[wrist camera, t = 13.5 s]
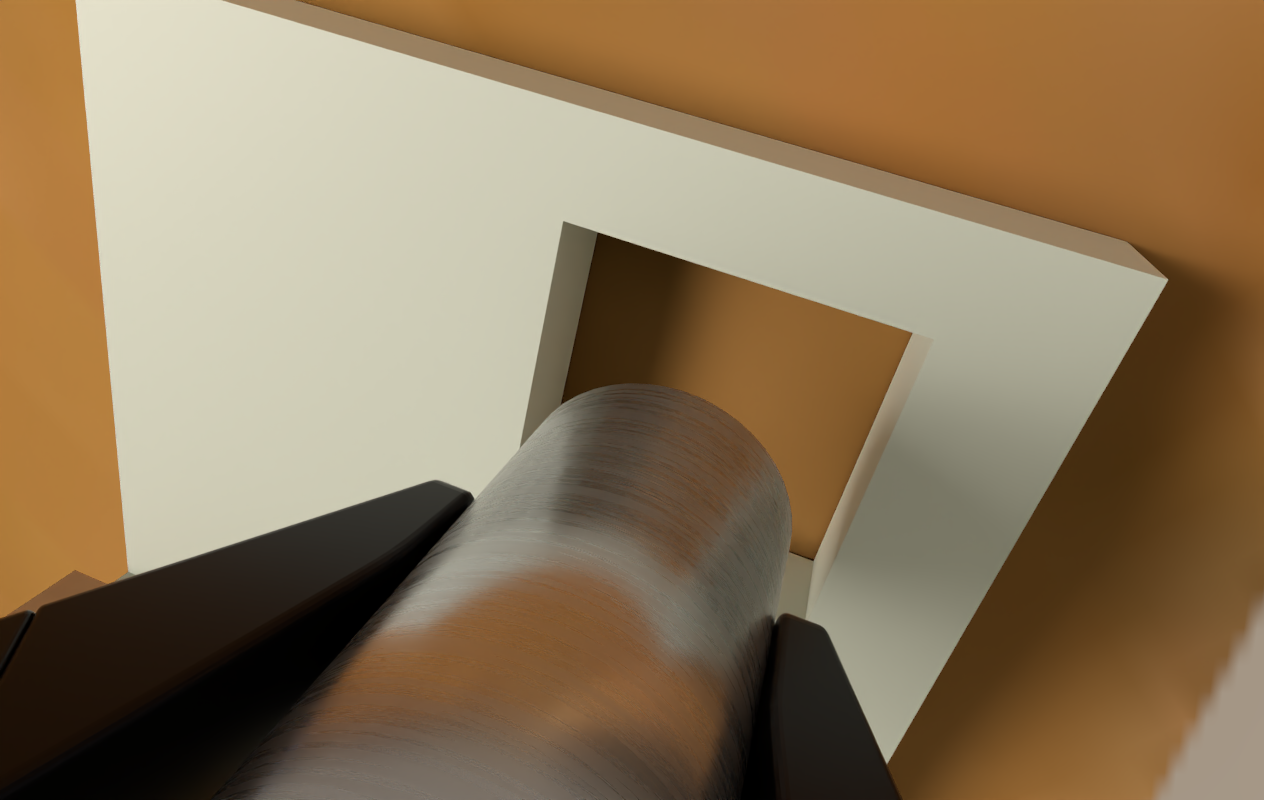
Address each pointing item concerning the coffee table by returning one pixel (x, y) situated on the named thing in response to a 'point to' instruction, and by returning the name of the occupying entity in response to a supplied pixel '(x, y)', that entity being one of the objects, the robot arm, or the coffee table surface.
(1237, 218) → the coffee table surface
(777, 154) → the board
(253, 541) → the robot arm
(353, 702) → the pin
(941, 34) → the coffee table surface
